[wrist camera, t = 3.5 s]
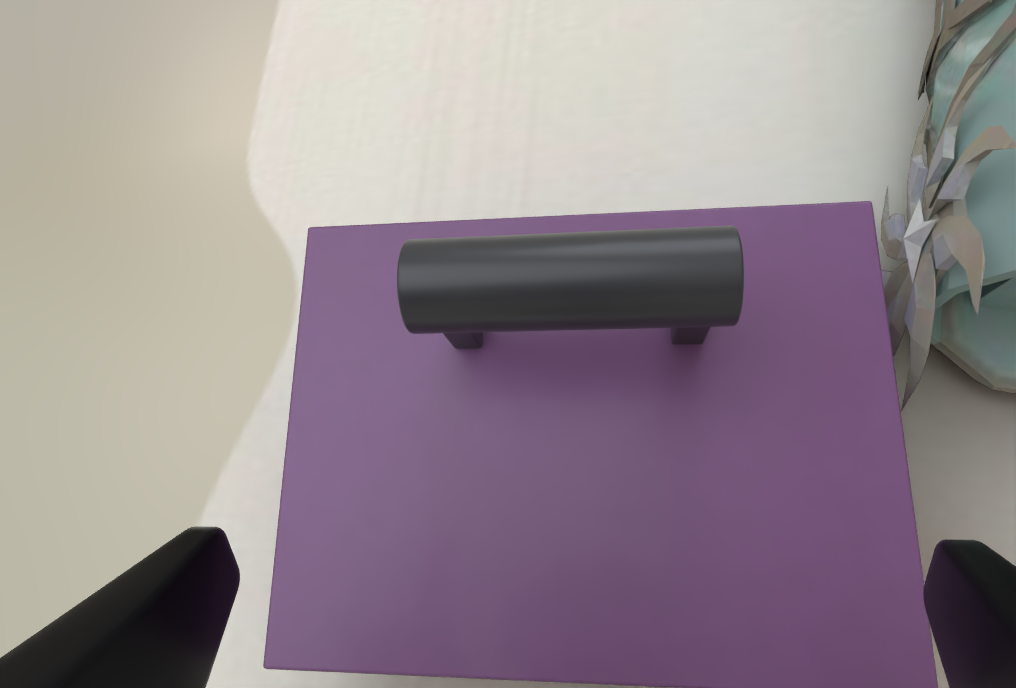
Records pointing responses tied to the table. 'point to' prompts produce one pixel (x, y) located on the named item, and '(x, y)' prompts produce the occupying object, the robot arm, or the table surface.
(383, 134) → the table surface
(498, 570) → the lid
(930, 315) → the ornate book
